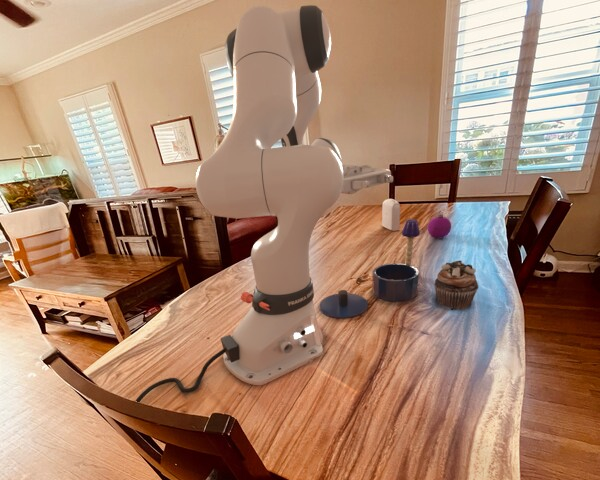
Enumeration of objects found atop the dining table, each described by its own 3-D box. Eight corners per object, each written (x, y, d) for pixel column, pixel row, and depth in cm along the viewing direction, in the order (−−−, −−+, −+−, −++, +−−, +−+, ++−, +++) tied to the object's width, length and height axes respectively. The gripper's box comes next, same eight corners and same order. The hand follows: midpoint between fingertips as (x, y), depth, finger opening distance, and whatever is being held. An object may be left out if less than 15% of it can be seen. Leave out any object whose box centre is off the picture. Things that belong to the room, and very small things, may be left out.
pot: (401, 308, 77) (403, 285, 74) (364, 296, 85) (364, 274, 82) (424, 291, 84) (427, 269, 81) (388, 281, 91) (388, 260, 88)
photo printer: (380, 226, 142) (381, 198, 136) (389, 224, 142) (390, 196, 136) (391, 231, 133) (392, 202, 127) (400, 230, 133) (402, 200, 127)
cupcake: (423, 299, 80) (427, 263, 75) (452, 289, 83) (457, 254, 78) (454, 315, 72) (460, 276, 67) (484, 304, 75) (492, 265, 70)
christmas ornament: (444, 233, 124) (447, 208, 119) (453, 239, 116) (457, 212, 112) (423, 235, 124) (425, 210, 119) (431, 242, 117) (434, 215, 112)
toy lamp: (418, 274, 93) (423, 218, 85) (411, 280, 90) (415, 223, 82) (403, 271, 96) (406, 217, 88) (396, 277, 93) (399, 221, 86)
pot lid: (346, 326, 73) (345, 309, 71) (309, 310, 81) (308, 294, 79) (377, 305, 80) (378, 289, 78) (340, 292, 88) (340, 277, 86)
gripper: (322, 174, 95) (351, 176, 84) (371, 164, 104) (404, 165, 93) (323, 195, 98) (352, 200, 87) (371, 184, 107) (403, 187, 96)
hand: (379, 182), depth 90 cm, fingers open, 8 cm apart
